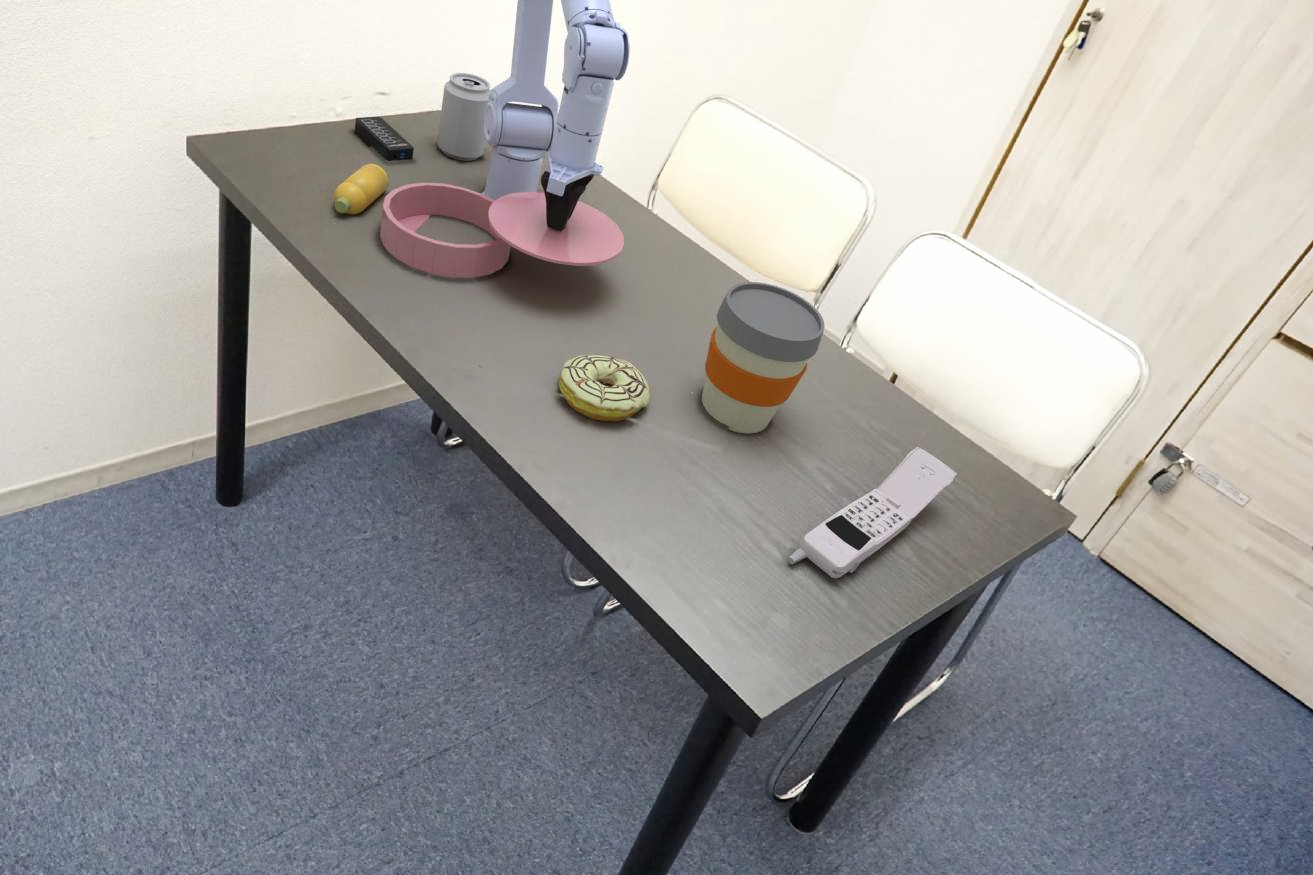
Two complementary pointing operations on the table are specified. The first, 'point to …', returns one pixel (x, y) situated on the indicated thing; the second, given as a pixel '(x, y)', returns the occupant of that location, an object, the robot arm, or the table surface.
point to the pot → (436, 257)
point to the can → (463, 116)
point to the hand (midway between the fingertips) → (557, 223)
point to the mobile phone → (875, 515)
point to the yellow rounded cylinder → (360, 189)
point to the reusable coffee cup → (758, 354)
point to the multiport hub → (383, 138)
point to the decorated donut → (603, 387)
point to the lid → (555, 231)
